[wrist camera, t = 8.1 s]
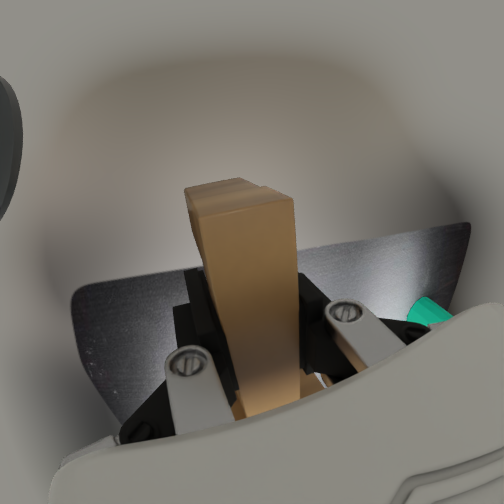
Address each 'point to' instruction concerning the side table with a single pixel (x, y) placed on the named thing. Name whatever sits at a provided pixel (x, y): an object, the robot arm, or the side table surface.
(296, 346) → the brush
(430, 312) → the candle
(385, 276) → the side table surface
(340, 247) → the side table surface
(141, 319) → the side table surface
